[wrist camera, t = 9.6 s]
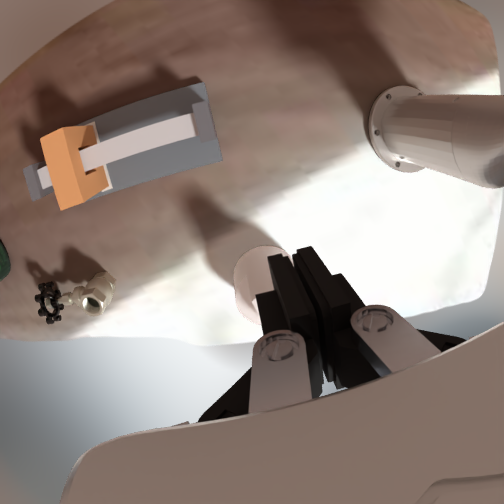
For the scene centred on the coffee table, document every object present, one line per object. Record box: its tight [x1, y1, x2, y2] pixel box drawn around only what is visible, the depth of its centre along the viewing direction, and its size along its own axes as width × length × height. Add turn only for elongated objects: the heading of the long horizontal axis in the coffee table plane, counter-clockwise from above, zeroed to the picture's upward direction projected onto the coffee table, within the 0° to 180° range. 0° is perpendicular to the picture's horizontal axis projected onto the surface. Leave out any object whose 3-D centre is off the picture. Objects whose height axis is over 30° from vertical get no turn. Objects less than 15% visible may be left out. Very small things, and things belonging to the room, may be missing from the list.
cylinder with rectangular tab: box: [233, 246, 294, 325], centre depth 39 cm, size 9×9×12 cm
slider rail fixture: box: [23, 82, 223, 208], centre depth 31 cm, size 22×10×8 cm, turn 102°
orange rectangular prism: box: [40, 125, 109, 210], centre depth 29 cm, size 3×8×8 cm, turn 12°
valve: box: [35, 271, 116, 324], centre depth 39 cm, size 7×7×12 cm
